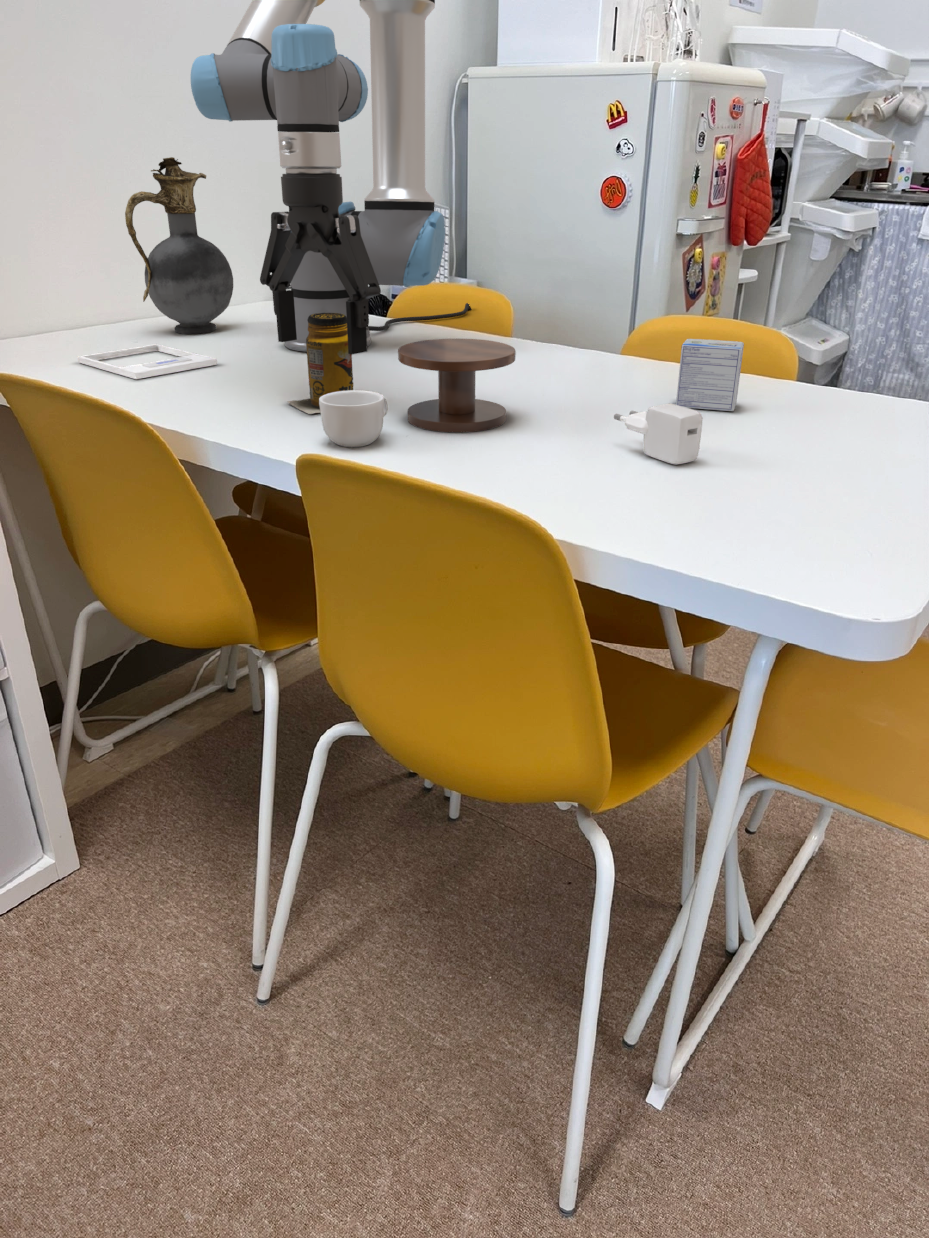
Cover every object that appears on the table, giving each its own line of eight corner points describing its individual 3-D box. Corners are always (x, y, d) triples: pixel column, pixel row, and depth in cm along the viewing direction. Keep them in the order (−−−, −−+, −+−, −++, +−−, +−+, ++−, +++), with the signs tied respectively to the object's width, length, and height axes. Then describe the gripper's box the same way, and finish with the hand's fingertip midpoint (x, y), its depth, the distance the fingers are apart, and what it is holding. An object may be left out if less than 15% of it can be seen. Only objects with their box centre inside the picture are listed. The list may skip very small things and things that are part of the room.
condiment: (365, 406, 129) (361, 316, 124) (309, 415, 125) (302, 322, 119) (341, 396, 135) (336, 309, 129) (287, 404, 130) (279, 314, 125)
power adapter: (605, 445, 113) (609, 396, 110) (634, 438, 116) (638, 391, 113) (673, 468, 105) (679, 417, 102) (703, 461, 107) (709, 410, 105)
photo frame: (134, 372, 142) (77, 355, 153) (136, 379, 143) (78, 362, 154) (216, 357, 152) (156, 343, 163) (217, 364, 152) (157, 349, 163)
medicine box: (736, 405, 130) (745, 341, 127) (733, 413, 127) (742, 347, 123) (679, 400, 133) (685, 337, 129) (674, 408, 129) (681, 343, 125)
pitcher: (246, 328, 182) (229, 157, 169) (160, 342, 169) (134, 158, 156) (213, 322, 189) (194, 156, 175) (128, 335, 176) (100, 157, 162)
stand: (449, 399, 133) (449, 334, 129) (536, 417, 125) (538, 348, 120) (376, 421, 123) (373, 350, 118) (465, 441, 114) (465, 367, 110)
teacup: (354, 455, 109) (351, 409, 107) (308, 443, 113) (305, 399, 111) (410, 436, 116) (409, 393, 114) (365, 426, 120) (363, 384, 118)
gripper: (223, 170, 121) (239, 339, 130) (361, 173, 107) (369, 362, 116) (268, 170, 126) (281, 332, 135) (405, 172, 112) (409, 354, 121)
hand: (321, 347), depth 126 cm, fingers open, 13 cm apart
